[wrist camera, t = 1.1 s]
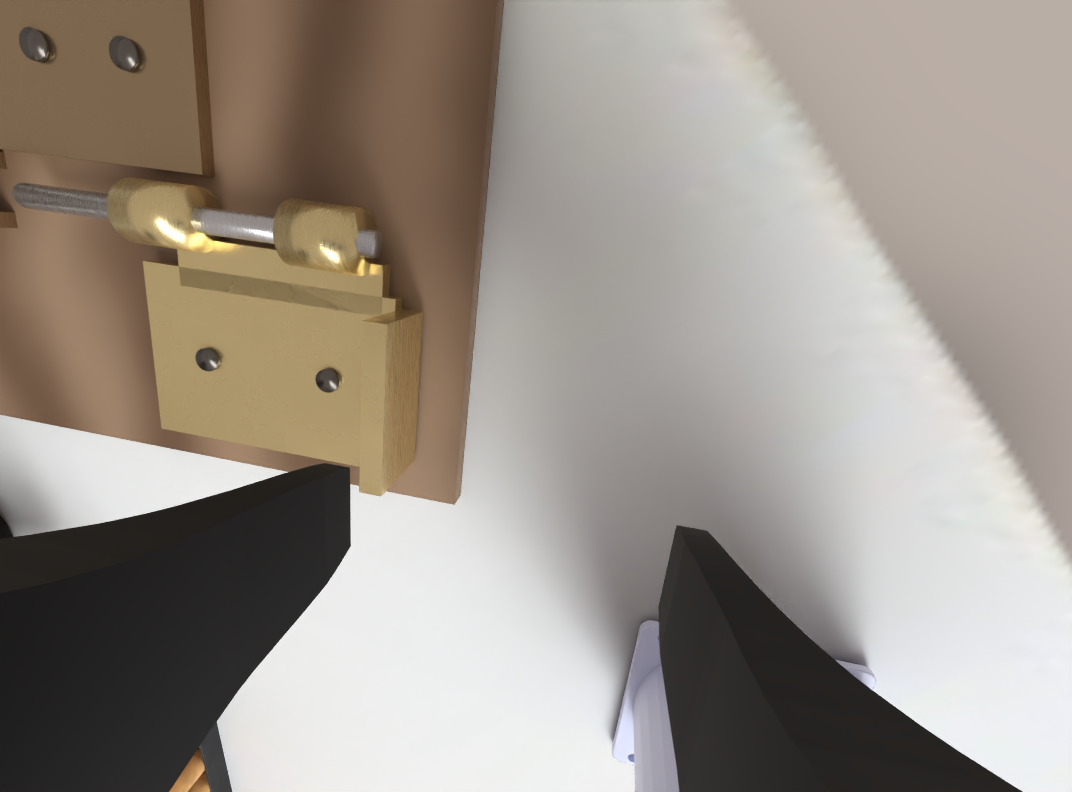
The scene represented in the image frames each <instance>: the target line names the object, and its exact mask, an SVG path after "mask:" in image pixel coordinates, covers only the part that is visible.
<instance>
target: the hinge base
mask: <svg viewBox="0 0 1072 792" xmlns="http://www.w3.org/2000/svg"><path fill="white" fill-rule="evenodd" d="M0 149H2V150H10V151H18V152H26V153H34V154H41V155H49V156H57V157H65V158H72V159H80V160H88V161H96V162H104V163H111V164H119V165H127V166H135V167H143V168H150V169H158V170H166V171H174V172H181V173H189V174H197V175H205V176H213V177H215V167H214V152H213V137H212V122H211V107H210V92H209V76H208V61H207V46H206V31H205V16H204V1H203V0H0ZM0 168H1V169H7V164H6V159H5V153H4V152H0ZM0 228H18V225H17V219H16V214H15V212H8V211H2V210H0Z"/></svg>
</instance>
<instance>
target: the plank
mask: <svg viewBox="0 0 1072 792" xmlns="http://www.w3.org/2000/svg"><path fill="white" fill-rule="evenodd" d="M203 1H204V16H205V31H206V46H207V61H208V76H209V92H210V107H211V122H212V137H213V152H214V167H215V177H213V176H205V175H197V174H189V173H181V172H174V171H166V170H158V169H150V168H143V167H135V166H127V165H119V164H111V163H104V162H96V161H88V160H80V159H72V158H65V157H57V156H49V155H41V154H34V153H26V152H18V151H10V150H2V149H0V152H4V153H5V159H6V164H7V169H1V168H0V210H2V211H8V212H15V214H16V219H17V225H18V228H0V415H5V416H10V417H15V418H20V419H25V420H30V421H35V422H40V423H45V424H50V425H56V426H61V427H66V428H71V429H76V430H81V431H86V432H91V433H96V434H101V435H106V436H111V437H116V438H121V439H126V440H131V441H136V442H141V443H146V444H151V445H156V446H161V447H166V448H171V449H177V450H182V451H187V452H192V453H197V454H202V455H207V456H212V457H217V458H222V459H227V460H232V461H237V462H242V463H247V464H252V465H257V466H262V467H267V468H272V469H277V470H282V471H287V472H291V471H294V470H298V469H301V468H305V467H308V466H312V465H317V464H322V463H328V464H333V465H339V466H344V467H350V484H353V485H358V486H359V480H360V467H358V466H353V465H347V464H342V463H337V462H332V461H327V460H322V459H317V458H311V457H306V456H301V455H296V454H291V453H286V452H280V451H275V450H270V449H265V448H260V447H255V446H249V445H244V444H239V443H234V442H229V441H224V440H219V439H213V438H208V437H203V436H198V435H193V434H188V433H182V432H177V431H172V430H167V429H162V428H161V419H160V410H159V401H158V392H157V383H156V375H155V366H154V357H153V348H152V339H151V330H150V321H149V312H148V303H147V294H146V286H145V277H144V268H143V261H154V260H157V261H164V262H171V263H177V264H178V253H177V249H173V248H167V247H160V246H153V245H146V244H139V243H134V242H131V241H129V240H127V239H125V238H124V237H122V236H121V235H120V234H119V233H118V232H117V231H116V230H115V228H114V227H113V225H112V223H111V221H110V220H103V219H96V218H89V217H82V216H75V215H68V214H61V213H54V212H47V211H40V210H33V209H27V208H24V207H22V206H20V205H19V204H18V203H17V202H16V201H15V199H14V197H13V188H14V186H15V185H16V184H18V183H22V182H25V183H32V184H39V185H47V186H54V187H61V188H69V189H76V190H83V191H91V192H98V193H105V194H108V193H109V191H110V189H111V187H112V186H113V185H114V184H115V183H116V182H117V181H119V180H121V179H123V178H129V177H131V178H140V179H147V180H155V181H162V182H170V183H178V184H185V185H193V186H200V187H203V188H205V189H207V190H209V191H210V192H211V193H212V194H213V195H214V196H215V197H216V199H217V200H218V202H219V204H220V206H221V209H223V210H230V211H237V212H245V213H252V214H259V215H267V216H274V217H275V214H276V211H277V209H278V207H279V206H280V204H281V203H282V202H284V201H285V200H287V199H299V200H307V201H315V202H322V203H330V204H338V205H345V206H353V207H360V208H366V209H367V210H369V211H370V213H371V214H372V216H373V218H374V220H375V223H376V227H377V231H379V232H380V233H381V235H382V238H383V250H382V253H381V255H380V257H379V258H377V259H375V263H382V264H388V265H391V267H390V295H389V296H395V297H402V309H408V310H414V311H421V312H423V319H422V337H421V355H420V373H419V391H418V409H417V427H416V445H415V461H414V462H413V463H412V464H411V465H410V466H409V467H408V468H407V469H406V470H405V472H404V473H403V474H402V475H401V476H400V477H399V478H398V479H397V480H396V481H395V482H394V483H393V484H392V485H391V486H390V487H389V488H388V490H387V491H388V492H393V493H398V494H403V495H408V496H413V497H418V498H424V499H429V500H434V501H439V502H444V503H449V504H455V503H456V501H457V500H458V498H459V497H460V492H461V481H462V470H463V458H464V447H465V436H466V424H467V413H468V402H469V390H470V379H471V368H472V356H473V345H474V334H475V322H476V311H477V300H478V288H479V277H480V266H481V254H482V243H483V232H484V220H485V209H486V198H487V186H488V175H489V164H490V152H491V141H492V130H493V118H494V107H495V96H496V84H497V73H498V62H499V50H500V39H501V28H502V16H503V5H504V0H203ZM221 240H222V241H229V242H236V243H243V244H250V245H257V246H264V247H271V248H275V244H271V243H264V242H257V241H250V240H243V239H236V238H229V237H222V238H221Z"/></svg>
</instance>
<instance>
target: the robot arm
mask: <svg viewBox="0 0 1072 792" xmlns="http://www.w3.org/2000/svg"><path fill="white" fill-rule="evenodd" d="M350 546H351V541H350V467H344V466H339V465H333V464H328V463H322V464H317V465H312V466H308V467H305V468H301V469H298V470H294V471H291V472H288V473H284V474H281V475H278V476H275V477H272V478H269V479H265V480H262V481H259V482H256V483H253V484H250V485H246V486H243V487H240V488H237V489H234V490H231V491H227V492H224V493H220V494H217V495H213V496H210V497H206V498H203V499H199V500H196V501H192V502H189V503H186V504H182V505H179V506H175V507H171V508H167V509H163V510H159V511H155V512H151V513H147V514H142V515H138V516H133V517H128V518H124V519H119V520H115V521H110V522H105V523H100V524H94V525H88V526H82V527H76V528H70V529H64V530H57V531H51V532H45V533H39V534H33V535H26V536H19V537H11V538H3V539H0V792H169V791H170V790H171V788H172V787H173V785H174V784H175V782H176V781H177V779H178V778H179V776H180V775H181V773H182V772H183V770H184V769H185V767H186V766H187V764H188V763H189V761H190V760H191V758H192V757H193V755H194V754H195V752H196V751H197V749H198V748H199V746H200V745H201V743H202V742H203V740H204V739H205V737H206V736H207V734H208V733H209V731H210V730H211V729H212V727H213V726H214V724H215V723H216V721H217V720H218V719H219V717H220V716H221V714H222V713H223V711H224V710H225V709H226V707H227V706H228V704H229V703H230V701H231V700H232V699H233V697H234V696H235V694H236V693H237V692H238V690H239V689H240V688H241V686H242V685H243V684H244V683H245V681H246V680H247V679H248V677H249V676H250V675H251V674H252V672H253V671H254V670H255V669H256V667H257V666H258V665H259V664H260V663H261V662H262V660H263V659H264V658H265V657H266V656H267V654H268V653H269V652H270V651H271V650H272V649H273V647H274V646H275V645H276V644H277V643H278V642H279V640H280V639H281V638H282V637H283V636H284V634H285V633H286V632H287V631H288V630H289V629H290V627H291V626H292V625H293V624H294V623H295V622H296V620H297V619H298V618H299V617H300V616H301V614H302V613H303V612H304V611H305V610H306V608H307V607H308V606H309V605H310V604H311V602H312V601H313V600H314V599H315V598H316V596H317V595H318V594H319V593H320V592H321V590H322V589H323V588H324V587H325V585H326V584H327V583H328V581H329V580H330V578H331V577H332V575H333V574H334V572H335V571H336V569H337V568H338V566H339V564H340V563H341V561H342V559H343V558H344V556H345V554H346V553H347V551H348V550H349V548H350ZM875 684H876V678H875V676H874V674H873V673H872V671H871V670H870V669H869V668H868V667H865V666H862V665H858V664H853V663H849V662H844V661H839V660H835V659H833V658H832V657H831V656H830V655H828V654H827V653H826V652H825V651H824V650H822V649H821V648H820V647H819V646H818V645H817V644H816V643H814V642H813V641H812V640H811V639H810V638H809V637H808V636H807V635H806V634H804V633H803V632H802V631H801V630H800V629H799V628H798V627H797V626H796V625H795V624H794V623H793V622H792V621H791V620H790V619H789V618H788V617H787V616H786V615H785V614H784V613H783V612H782V611H781V610H779V608H778V607H777V606H776V605H775V604H774V603H773V602H772V601H771V600H770V599H769V598H768V597H767V596H766V595H765V594H764V593H763V592H762V591H761V590H760V589H759V588H758V587H757V586H756V585H755V583H754V582H753V581H752V580H751V579H750V578H749V577H748V576H747V575H746V574H745V573H744V571H743V570H742V569H741V568H740V567H739V566H738V565H737V564H736V562H735V561H734V560H733V559H732V558H731V557H730V556H729V555H728V553H727V552H726V551H725V550H724V549H723V548H722V547H721V545H720V544H719V543H718V542H717V541H716V540H715V539H714V538H713V537H712V535H711V534H710V533H709V532H708V531H705V530H700V529H694V528H689V527H683V526H676V530H675V535H674V540H673V544H672V549H671V553H670V558H669V562H668V567H667V571H666V576H665V580H664V585H663V589H662V594H661V599H660V603H659V622H658V621H653V620H648V621H645V622H644V623H642V624H641V626H640V629H639V633H638V637H637V642H636V646H635V650H634V655H633V659H632V663H631V667H630V672H629V676H628V680H627V685H626V689H625V693H624V698H623V702H622V706H621V710H620V715H619V719H618V723H617V728H616V732H615V736H614V740H613V745H612V755H613V757H614V759H616V760H617V761H619V762H621V763H625V764H629V765H633V766H635V792H1022V791H1021V790H1019V789H1017V788H1016V787H1014V786H1012V785H1011V784H1009V783H1008V782H1006V781H1004V780H1003V779H1001V778H1000V777H998V776H997V775H995V774H993V773H992V772H990V771H989V770H987V769H986V768H984V767H982V766H981V765H979V764H978V763H976V762H975V761H973V760H971V759H970V758H968V757H967V756H965V755H964V754H962V753H960V752H959V751H957V750H956V749H954V748H953V747H951V746H950V745H948V744H947V743H945V742H944V741H943V740H941V739H940V738H938V737H937V736H935V735H934V734H932V733H931V732H929V731H928V730H926V729H925V728H923V727H922V726H920V725H919V724H918V723H916V722H915V721H914V720H912V719H911V718H909V717H908V716H907V715H905V714H904V713H903V712H901V711H900V710H898V709H897V708H896V707H894V706H893V705H892V704H890V703H889V702H887V701H886V700H885V699H883V698H882V697H881V696H879V695H878V694H877V693H875V692H874V691H873V689H874V686H875Z"/></svg>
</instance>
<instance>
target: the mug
mask: <svg viewBox="0 0 1072 792" xmlns="http://www.w3.org/2000/svg"><path fill="white" fill-rule="evenodd" d="M11 537H12V536H11V534H10V531H9V530H8V528H7V526H6V524H5V523H4V521H3V520H2V518H1V517H0V539H3V538H11Z"/></svg>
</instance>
